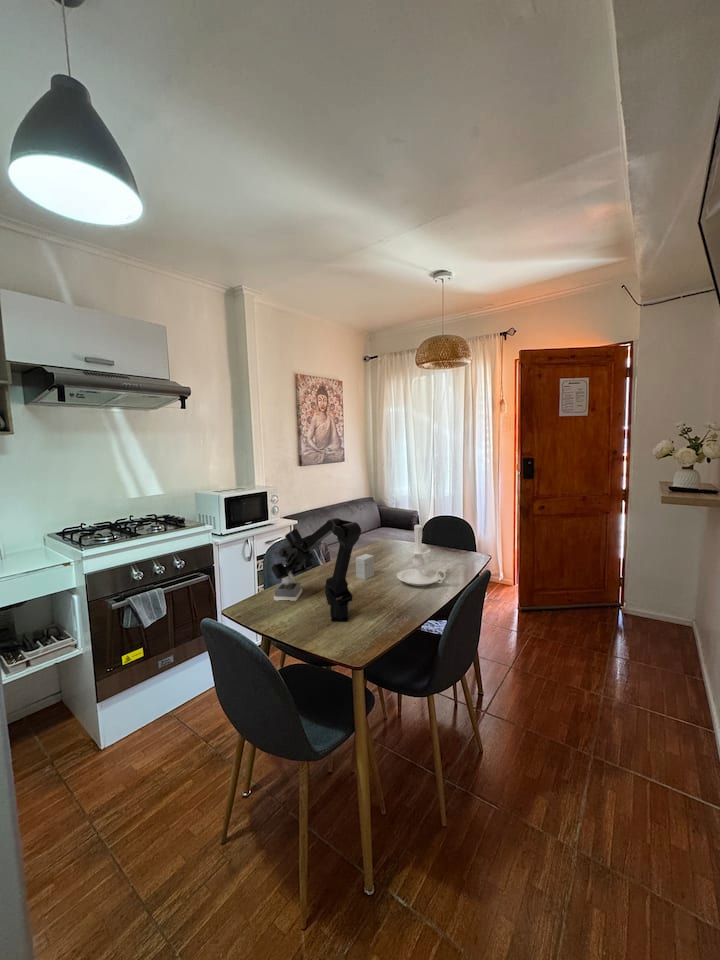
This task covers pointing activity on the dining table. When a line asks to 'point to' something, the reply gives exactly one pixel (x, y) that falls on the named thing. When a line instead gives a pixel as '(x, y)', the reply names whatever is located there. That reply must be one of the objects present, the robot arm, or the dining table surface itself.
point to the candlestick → (419, 565)
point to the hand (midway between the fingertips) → (285, 576)
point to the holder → (288, 592)
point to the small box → (364, 566)
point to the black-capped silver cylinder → (288, 580)
